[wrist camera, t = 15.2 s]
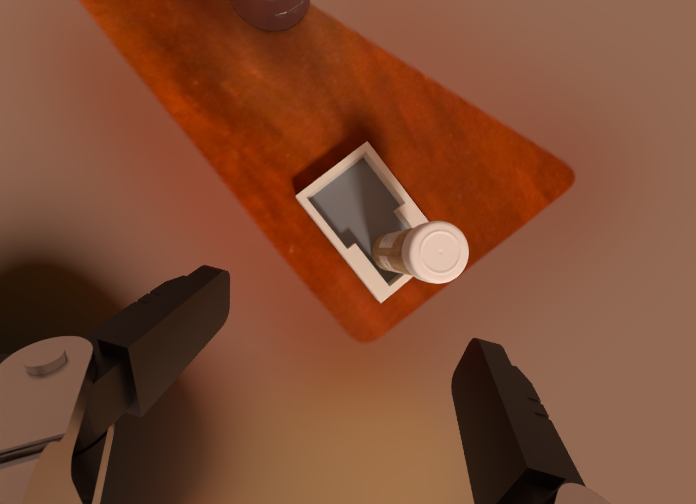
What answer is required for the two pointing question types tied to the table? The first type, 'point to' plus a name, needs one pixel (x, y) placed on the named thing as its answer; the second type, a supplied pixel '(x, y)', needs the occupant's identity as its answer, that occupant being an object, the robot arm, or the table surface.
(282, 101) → the table surface
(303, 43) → the table surface
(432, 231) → the sprinkles bottle
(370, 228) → the shallow tray
